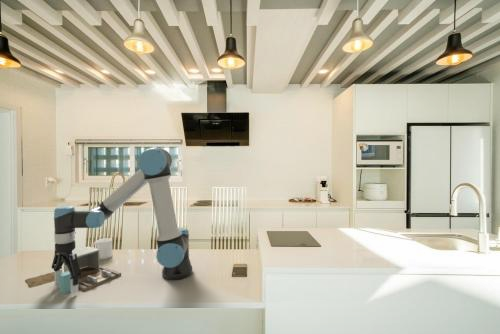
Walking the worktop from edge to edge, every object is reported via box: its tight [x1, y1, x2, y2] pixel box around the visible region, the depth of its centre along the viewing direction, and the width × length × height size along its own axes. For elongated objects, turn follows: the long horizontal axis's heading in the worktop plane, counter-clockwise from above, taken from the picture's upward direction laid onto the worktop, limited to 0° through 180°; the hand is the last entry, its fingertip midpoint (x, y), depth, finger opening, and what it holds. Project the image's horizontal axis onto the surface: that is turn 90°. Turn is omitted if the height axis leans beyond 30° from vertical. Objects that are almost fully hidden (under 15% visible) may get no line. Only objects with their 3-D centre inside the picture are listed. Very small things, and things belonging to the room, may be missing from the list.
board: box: [78, 265, 122, 292], centre depth 133 cm, size 24×18×3 cm
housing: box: [63, 245, 101, 273], centre depth 136 cm, size 10×12×10 cm
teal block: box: [58, 271, 71, 295], centre depth 119 cm, size 4×4×8 cm
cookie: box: [24, 271, 55, 289], centre depth 130 cm, size 12×12×1 cm
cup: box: [91, 237, 113, 260], centre depth 160 cm, size 8×12×10 cm
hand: (66, 288), depth 119 cm, fingers open, 13 cm apart
